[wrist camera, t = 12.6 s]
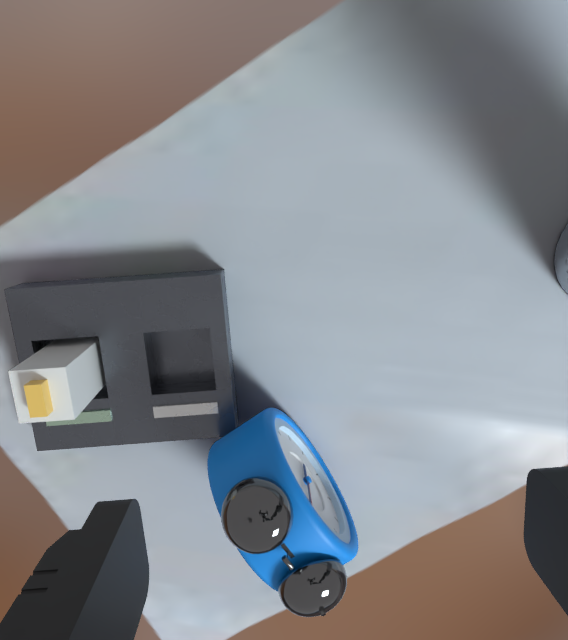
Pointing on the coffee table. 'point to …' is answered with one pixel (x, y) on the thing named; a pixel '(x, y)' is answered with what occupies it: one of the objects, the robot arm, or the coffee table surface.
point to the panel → (137, 355)
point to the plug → (58, 380)
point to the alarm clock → (283, 511)
